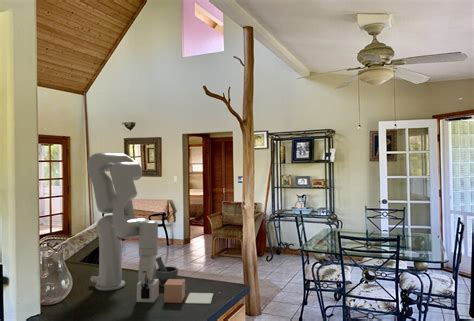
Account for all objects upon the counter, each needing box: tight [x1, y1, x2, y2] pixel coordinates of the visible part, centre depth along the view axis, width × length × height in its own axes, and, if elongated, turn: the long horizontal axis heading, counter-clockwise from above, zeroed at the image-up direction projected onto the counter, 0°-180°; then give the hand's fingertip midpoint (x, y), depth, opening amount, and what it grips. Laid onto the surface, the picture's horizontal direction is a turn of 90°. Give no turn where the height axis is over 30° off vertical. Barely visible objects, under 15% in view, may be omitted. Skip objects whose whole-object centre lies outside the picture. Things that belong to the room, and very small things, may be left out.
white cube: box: [136, 278, 160, 303], centre depth 149 cm, size 7×7×7 cm
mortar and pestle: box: [155, 256, 179, 288], centre depth 167 cm, size 11×9×12 cm
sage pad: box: [184, 292, 214, 305], centre depth 149 cm, size 10×11×1 cm
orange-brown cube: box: [163, 278, 186, 304], centre depth 149 cm, size 7×7×7 cm
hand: (148, 294), depth 149 cm, fingers closed on white cube, 7 cm apart
